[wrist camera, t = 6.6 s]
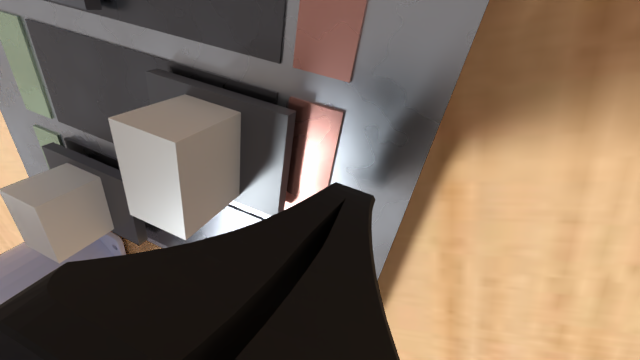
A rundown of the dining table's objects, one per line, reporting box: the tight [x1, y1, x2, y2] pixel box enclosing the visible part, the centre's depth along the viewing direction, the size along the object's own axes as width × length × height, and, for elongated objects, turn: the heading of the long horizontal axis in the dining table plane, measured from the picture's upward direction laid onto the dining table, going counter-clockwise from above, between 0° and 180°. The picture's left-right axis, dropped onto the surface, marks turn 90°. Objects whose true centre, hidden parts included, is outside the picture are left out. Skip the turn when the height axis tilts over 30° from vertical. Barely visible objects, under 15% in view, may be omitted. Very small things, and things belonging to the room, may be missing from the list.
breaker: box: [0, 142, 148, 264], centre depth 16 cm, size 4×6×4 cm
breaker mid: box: [108, 69, 296, 240], centre depth 11 cm, size 4×6×4 cm
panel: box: [0, 0, 489, 281], centre depth 14 cm, size 18×24×2 cm
